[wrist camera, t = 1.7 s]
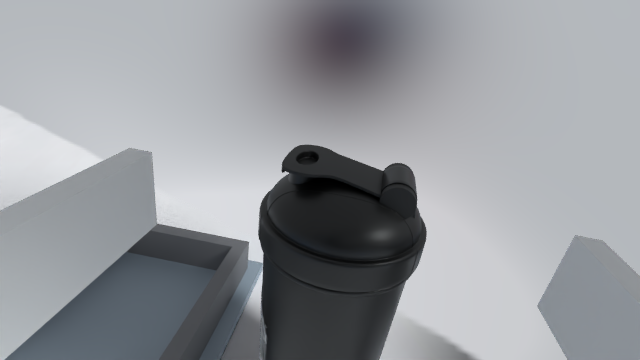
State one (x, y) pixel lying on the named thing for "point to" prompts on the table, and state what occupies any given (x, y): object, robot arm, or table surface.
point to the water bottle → (335, 256)
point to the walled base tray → (154, 303)
